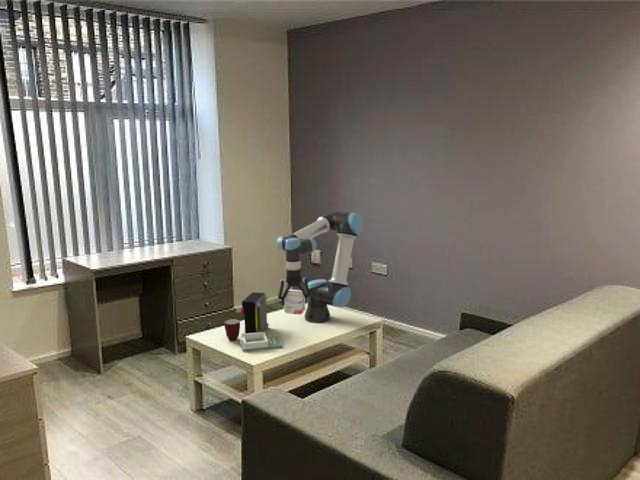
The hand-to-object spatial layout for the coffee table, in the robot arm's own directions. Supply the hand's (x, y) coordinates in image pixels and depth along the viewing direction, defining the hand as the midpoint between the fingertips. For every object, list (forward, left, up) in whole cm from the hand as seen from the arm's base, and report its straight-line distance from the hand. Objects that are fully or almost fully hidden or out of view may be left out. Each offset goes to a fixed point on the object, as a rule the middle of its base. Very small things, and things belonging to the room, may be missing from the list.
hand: (294, 310), depth 275 cm
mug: (+32, -12, -17) cm, 38 cm away
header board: (+18, 0, -17) cm, 25 cm away
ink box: (0, 0, -1) cm, 1 cm away
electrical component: (+18, -19, -17) cm, 31 cm away
